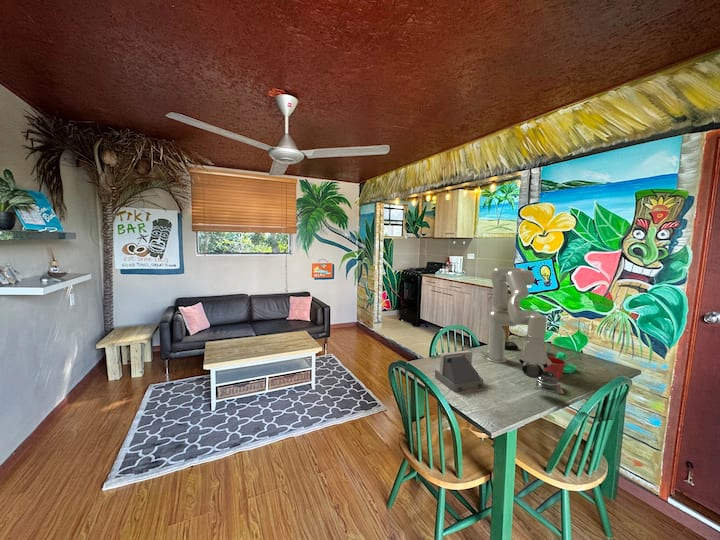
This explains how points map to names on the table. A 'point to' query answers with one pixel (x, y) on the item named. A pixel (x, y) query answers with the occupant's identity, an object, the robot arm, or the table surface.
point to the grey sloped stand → (458, 371)
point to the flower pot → (555, 367)
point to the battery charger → (510, 346)
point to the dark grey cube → (532, 370)
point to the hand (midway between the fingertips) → (532, 373)
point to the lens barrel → (547, 383)
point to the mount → (568, 367)
